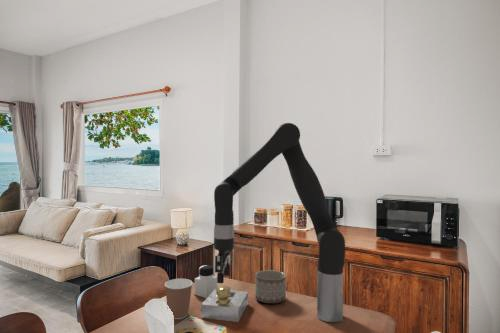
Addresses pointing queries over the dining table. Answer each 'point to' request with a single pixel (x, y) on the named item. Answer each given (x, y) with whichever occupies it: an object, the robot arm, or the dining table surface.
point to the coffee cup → (178, 296)
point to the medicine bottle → (205, 281)
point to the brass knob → (223, 294)
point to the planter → (270, 286)
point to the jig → (225, 306)
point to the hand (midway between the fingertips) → (223, 279)
